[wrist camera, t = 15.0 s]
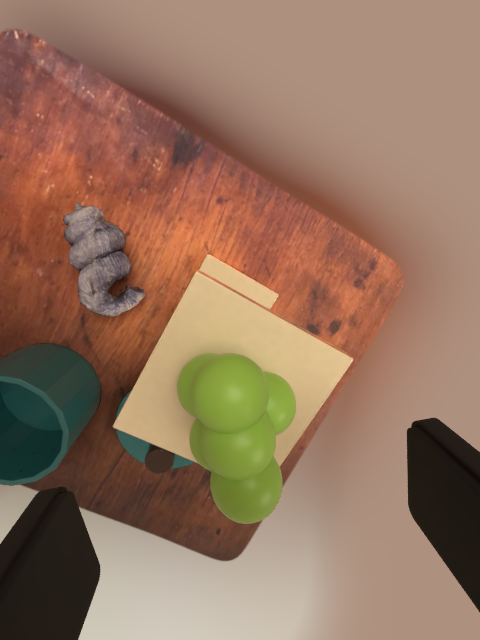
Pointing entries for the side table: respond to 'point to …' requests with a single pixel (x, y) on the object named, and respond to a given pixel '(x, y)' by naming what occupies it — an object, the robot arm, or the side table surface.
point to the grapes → (237, 430)
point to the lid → (149, 450)
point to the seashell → (99, 261)
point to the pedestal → (229, 337)
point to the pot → (42, 409)
